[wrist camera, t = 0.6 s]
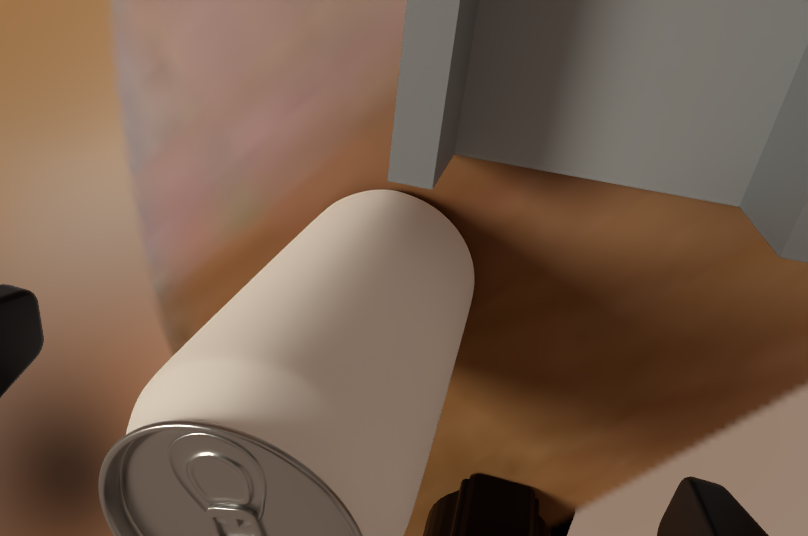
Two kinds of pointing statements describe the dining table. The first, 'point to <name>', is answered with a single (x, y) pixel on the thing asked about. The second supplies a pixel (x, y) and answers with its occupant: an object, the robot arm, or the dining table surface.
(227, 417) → the can
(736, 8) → the u rest
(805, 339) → the dining table surface
